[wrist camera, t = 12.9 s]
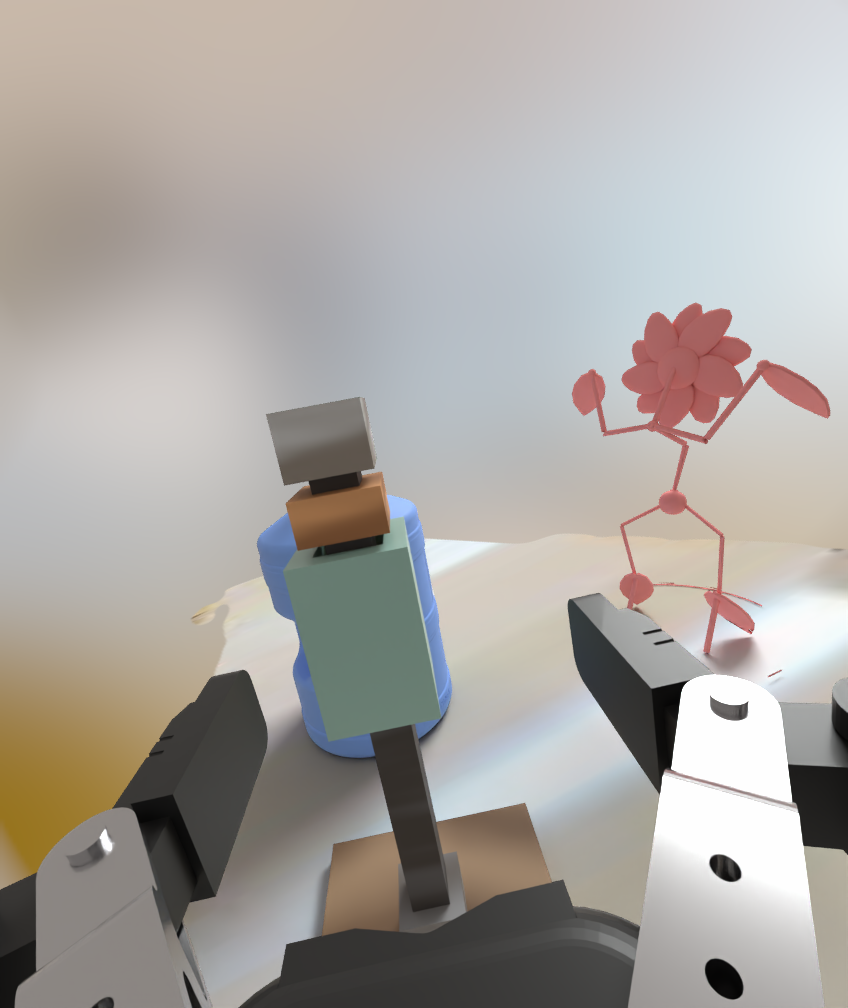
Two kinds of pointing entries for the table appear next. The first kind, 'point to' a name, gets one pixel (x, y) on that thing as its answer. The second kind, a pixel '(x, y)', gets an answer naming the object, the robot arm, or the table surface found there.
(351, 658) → the sleeve
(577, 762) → the table surface
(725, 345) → the figurine
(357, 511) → the cord stand
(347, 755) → the water jug
